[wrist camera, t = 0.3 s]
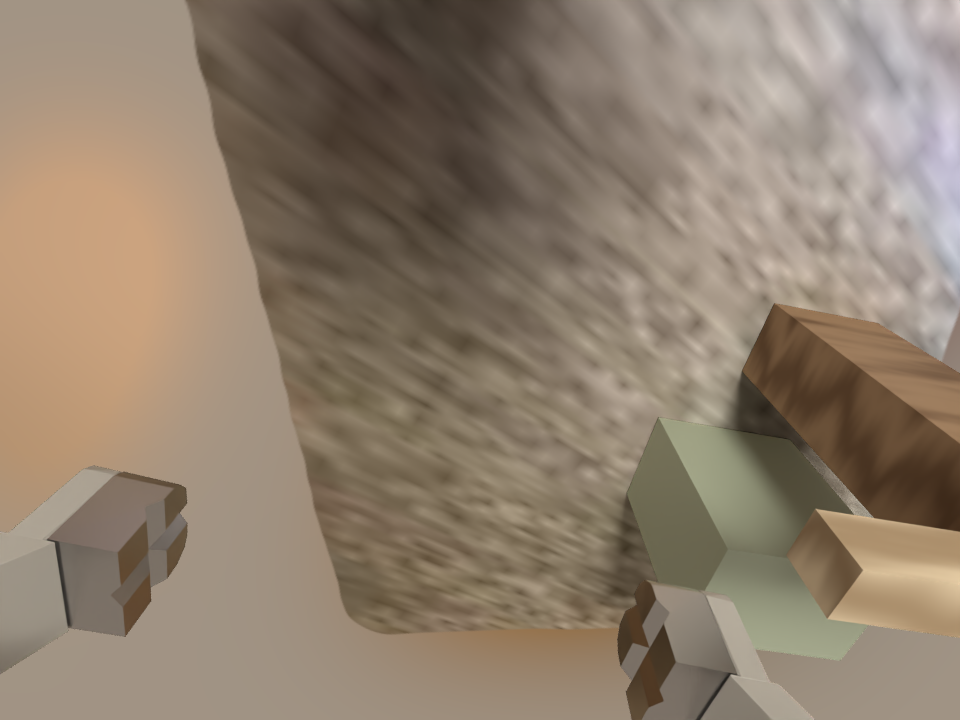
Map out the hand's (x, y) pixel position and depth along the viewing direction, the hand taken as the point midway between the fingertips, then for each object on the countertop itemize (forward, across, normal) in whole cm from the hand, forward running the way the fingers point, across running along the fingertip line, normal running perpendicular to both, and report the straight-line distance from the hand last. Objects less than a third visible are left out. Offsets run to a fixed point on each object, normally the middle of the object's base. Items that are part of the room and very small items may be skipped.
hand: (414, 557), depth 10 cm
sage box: (+40, -29, +21) cm, 53 cm away
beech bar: (+13, -28, +7) cm, 32 cm away
